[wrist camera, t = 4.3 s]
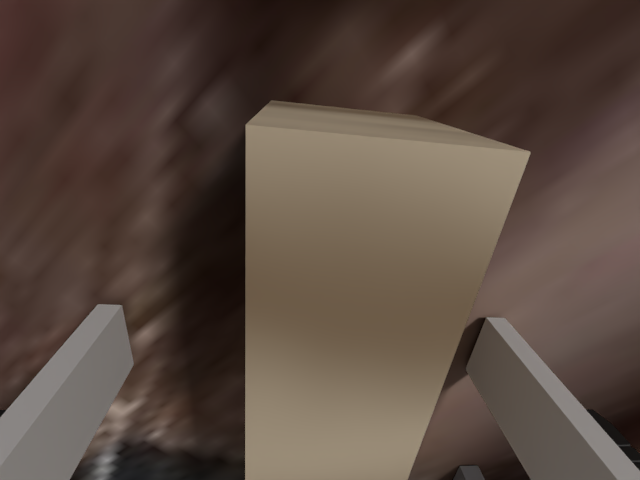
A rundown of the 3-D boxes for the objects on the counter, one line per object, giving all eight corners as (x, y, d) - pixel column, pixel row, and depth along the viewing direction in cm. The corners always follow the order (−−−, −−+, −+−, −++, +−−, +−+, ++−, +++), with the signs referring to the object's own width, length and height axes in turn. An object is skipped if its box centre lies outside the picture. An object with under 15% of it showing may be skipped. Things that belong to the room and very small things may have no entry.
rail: (271, 100, 9) (245, 124, 4) (416, 115, 9) (531, 151, 5) (257, 513, 18) (245, 660, 13) (330, 512, 18) (341, 653, 14)
